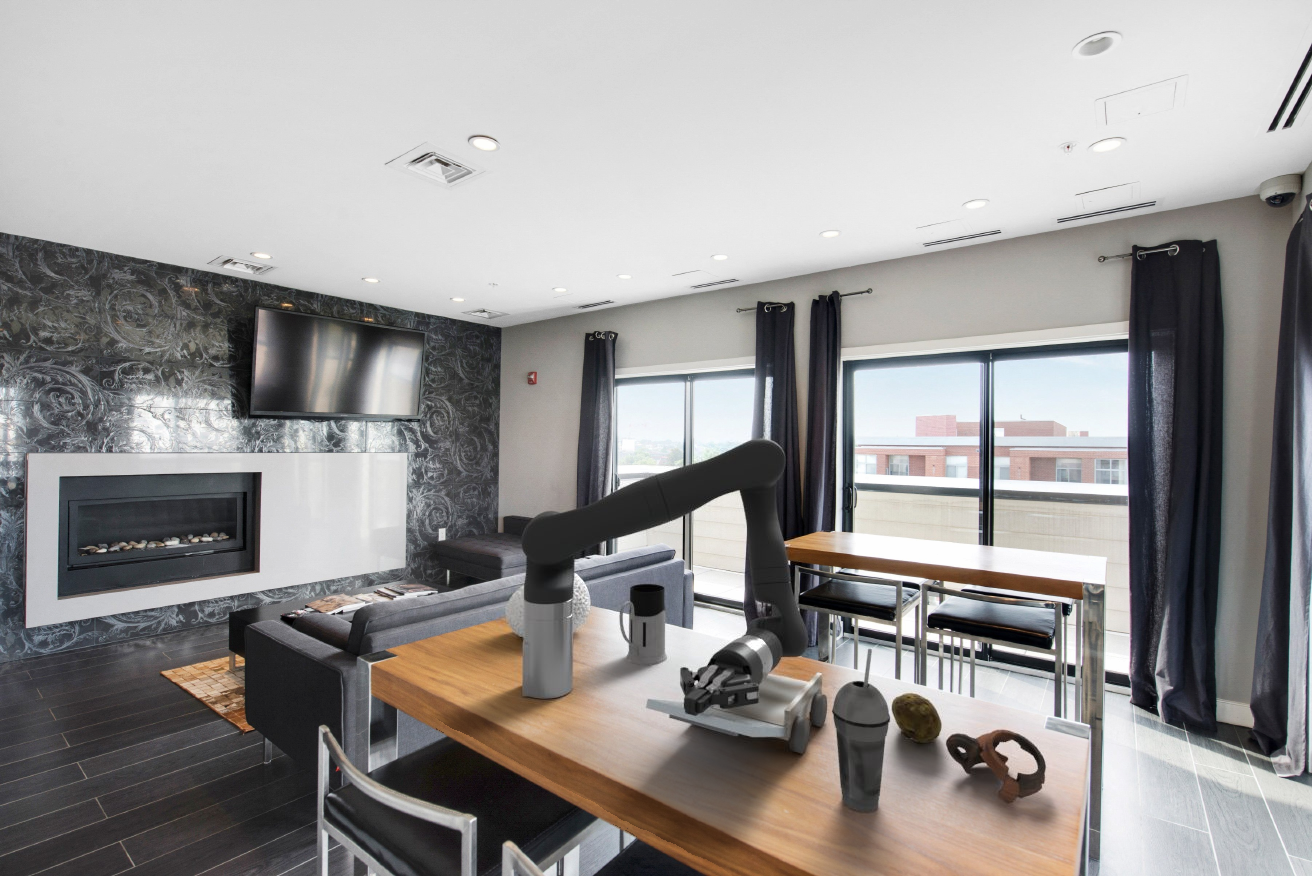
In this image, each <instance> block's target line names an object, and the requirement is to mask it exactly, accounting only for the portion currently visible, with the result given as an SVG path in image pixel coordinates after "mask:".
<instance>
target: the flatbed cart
mask: <svg viewBox="0 0 1312 876" xmlns="http://www.w3.org/2000/svg"><path fill="white" fill-rule="evenodd" d="M728 701H731V700H728ZM712 709H716V710H720V711H724V712H728V713H731V714H735V715H739V716H743V717H747V718H751V719H755V720H759V721H762V722H766V723H770V724H774V725H778V726H782V727H786V736H785V737H776V738H778V739H782V740H783V741H784V740H785V741H788V745H789V749H790V751H791V752H794V753H798V754H801V755H804V754H805V753H806V751H807V748H808V745H809V740H810V725H811V726H816V727H820V728H823V726H824V725H825V724H826V723H825V722H826V719H827V714H828V698H827V695H826V694H823V673H821V672H816V674H815V675H814V676H813V677H812V678H811V679H810V681H807V680H806V681H805V680H802V679H796V678H792V677H787V676H782V675H778V674H772V673H769V674H768V675H767V677H766V678H765V680H764V681H763V682H762V683H761V684H760V685H759V703H757V704H751V705H745V706H740V707H734V708H728V709H721V708H720V705H716V706H715V707H713V708H712ZM807 717H808V718H807Z"/></svg>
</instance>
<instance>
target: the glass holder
mask: <svg viewBox="0 0 1312 876" xmlns="http://www.w3.org/2000/svg"><path fill="white" fill-rule="evenodd" d="M665 592H666V591H665V586H663V585H659V584H656V583H655V584H653V583H641V584H635V585H631V586H630V588H629V601H628V600H627V601H624V603H622V605H621V606H620V610H619V617H618V618H619V626H620V627H619V628H620V633H621V634H622V638H623V639H624V641H626V643H627V644H628V653H627V655H626V660H627V661H629V662H630V663H632V664H637V665H641V666H642V665H643V666H645V665H646V666H650V664H653V665H658V664H662V663H664V662H665V661H666V660H667V659H668V656H667V653H666V604H665V597H666V595H665ZM627 605H629V610H628V636H627V634H626V631H625V627H624V620H623V619H624V610H625V608H626V606H627ZM663 661H664V662H663ZM661 662H662V663H661ZM657 663H658V664H657Z"/></svg>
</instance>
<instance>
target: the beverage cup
mask: <svg viewBox="0 0 1312 876" xmlns="http://www.w3.org/2000/svg"><path fill="white" fill-rule="evenodd" d="M872 653H873V649H871V648H867V655H866V656H867V657H866V663H865V670H864V680H853V681H850V682H848V683H846V684H844V685H843V686H841V687H840V689H839V690H838V691H837V692H836V695H835V698H834V701H833V706H832V710H831V712H832V714H833V723H834V728H835V731H836V733H835V734H836V744H837V745H836V746H837V756H838V770H839V784H840V788H841V789H840V790H841V798H842V799H841V800H842V802H843V804H844V805H845V806H846V807H848V808H849V809H851V810H854V811H856V812H861V813H871V812H874V811H876V810H878V808H879V801H880V800H879V799H880V797H881V786H882V776H883V767H884V765H883V764H884V757H885V756H884V755H885V746H886V745H885V744H886V737H887V736H888V730H889V724H890V722H891V716H890V712H889V711H890V710H889V706H888V703H887V700H886V698H885V697H884V695H883V694H882V692H881V691H880V690H879V689H878V688H877V687H875V685H873V684H871V683H869V679H870V671H871V669H870V668H871V661H872Z"/></svg>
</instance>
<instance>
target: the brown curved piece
mask: <svg viewBox="0 0 1312 876" xmlns="http://www.w3.org/2000/svg"><path fill="white" fill-rule="evenodd" d="M1010 741H1014V742H1015V743H1017V744H1018V745H1019V746H1020V747H1019V748H1020V749H1021V750H1023V751H1024V752H1026V753H1028V754H1030V755H1031V756H1032V757H1033V758H1034V760H1035V762H1036V765H1037V766H1036V767H1037V770H1036V771H1035V772H1033V773H1021V772H1017V775H1016V778H1014V777H1012V776H1011V775H1009V771H1010V770H1009V769H1010V767H1009V766H1008V765H1007V764H1006V763H1007V762H1008V761H1009V757H1008V756H1007V755H1005V754H1003V753H1000V752H999V751H998V750H996V748H997V747H998V746H999V745H1000V744H1001V743H1008V742H1010ZM945 746H946V748H947V752H948V754H949V756H950V757H951V758H952V759H953V760H954V761H955V762H957V763H958V764H959V765H960V766H961V767H962V769H963V770H964V772H965V773H966V774H967V775H968V774H969V775H970V774H971V770H972V768H973V767H974V766H976V765H979V764H986V766H987V767H988V768H989V769H990V770H991V772H992V773H993V774H994V775H995V776H996V777H997V779H999V780H1000V781H1001V782H1002V786H1001V787H1002V788H1001V789H1000V790H999V791H998V797H999V798H1000V799H1002V801H1004V802H1007V803H1013V801H1016V799H1017V797H1018V798H1019V799H1023V798H1026V797H1030V796H1033V795H1035V794H1037V793H1038V792H1039V791H1041V790H1042V789H1043V785H1044V784H1045V781H1046V770H1047V769H1046V768H1047V764H1046V761H1045V758H1044V755H1043V754H1042V753H1041V751H1040V750H1039V749H1038V747H1037V746H1036V744H1034V743H1033V742H1032V741H1030V740H1029V739H1028V738H1026V737H1025V736H1023V735H1021V734H1020V733H1017V732H1014V731H1011V730H1008V729H995V730H993V731H991V732H988V733H983V734H982V735H980V736H977V737H972V736H969V735H968V734H964V733H953V734H951V735H950V736H949V737H948V738H947V739H946V740H945ZM959 748H960V749H963V750H964V752H963V751H961V750H960V749H959Z"/></svg>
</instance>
